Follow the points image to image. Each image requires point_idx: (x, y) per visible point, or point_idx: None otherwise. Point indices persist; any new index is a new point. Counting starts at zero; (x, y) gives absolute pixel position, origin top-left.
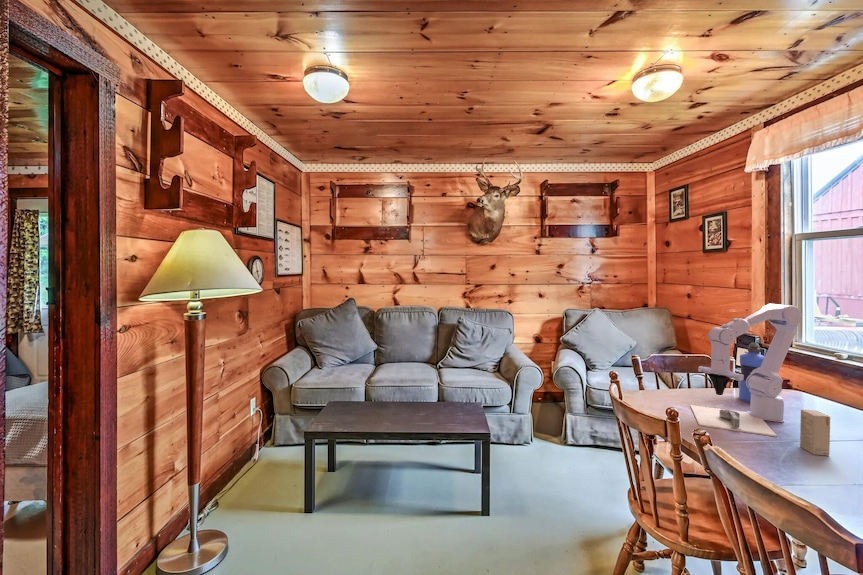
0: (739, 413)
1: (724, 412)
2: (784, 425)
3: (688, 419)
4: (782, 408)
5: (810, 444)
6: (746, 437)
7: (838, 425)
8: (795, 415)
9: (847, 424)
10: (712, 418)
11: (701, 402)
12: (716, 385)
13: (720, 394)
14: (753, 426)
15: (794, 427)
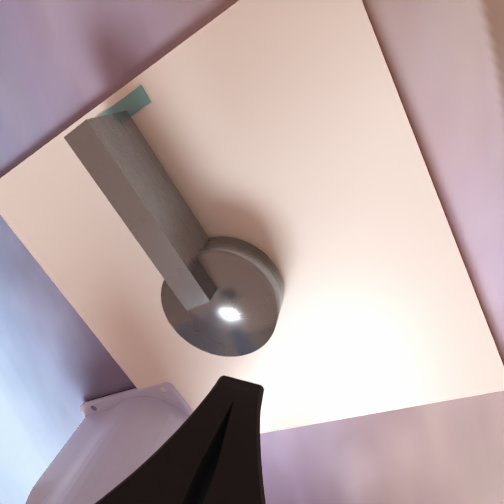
0: None
1: (236, 284)
2: (67, 375)
3: (462, 33)
4: (46, 470)
5: None
6: (30, 9)
7: (6, 472)
8: None
9: (5, 491)
10: (303, 203)
11: (455, 482)
12: (214, 487)
13: (215, 386)
14: (99, 246)
15: (40, 375)
